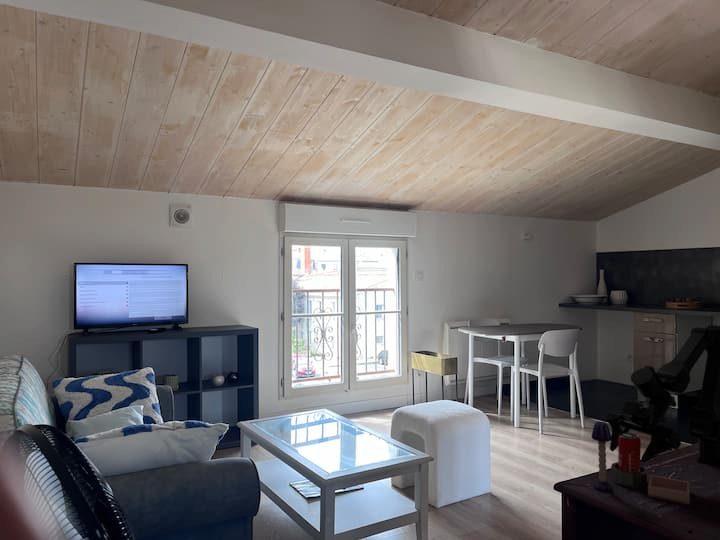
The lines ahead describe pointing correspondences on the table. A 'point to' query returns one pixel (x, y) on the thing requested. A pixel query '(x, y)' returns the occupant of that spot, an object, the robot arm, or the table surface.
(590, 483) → the table surface
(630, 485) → the steel collar
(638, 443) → the beverage can
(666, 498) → the terracotta tray
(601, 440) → the toy lamp
